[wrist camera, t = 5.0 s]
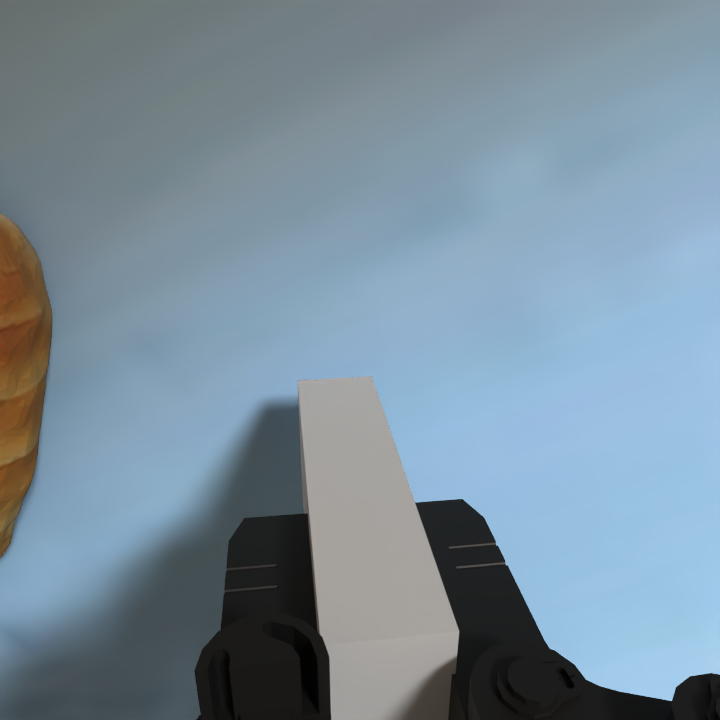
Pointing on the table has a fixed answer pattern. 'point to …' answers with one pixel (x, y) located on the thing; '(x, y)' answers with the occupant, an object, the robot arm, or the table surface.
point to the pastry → (20, 368)
